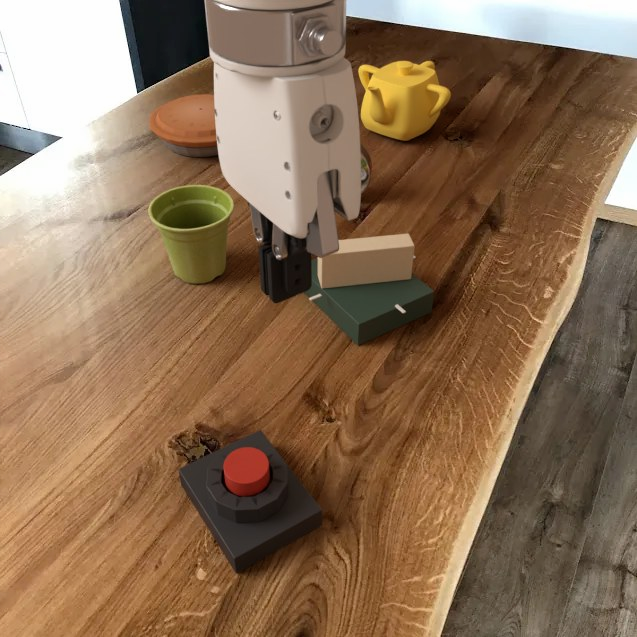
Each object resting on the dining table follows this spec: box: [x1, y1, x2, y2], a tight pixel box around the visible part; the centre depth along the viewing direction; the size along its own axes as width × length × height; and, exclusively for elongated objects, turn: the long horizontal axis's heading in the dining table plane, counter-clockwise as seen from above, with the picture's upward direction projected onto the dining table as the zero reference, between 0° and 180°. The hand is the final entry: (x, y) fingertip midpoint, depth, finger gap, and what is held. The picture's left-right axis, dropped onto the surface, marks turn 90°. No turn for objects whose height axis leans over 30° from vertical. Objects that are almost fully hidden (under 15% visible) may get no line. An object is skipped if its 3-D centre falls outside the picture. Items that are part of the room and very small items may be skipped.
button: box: [223, 447, 270, 497], centre depth 58 cm, size 4×4×2 cm
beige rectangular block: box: [317, 233, 416, 289], centre depth 79 cm, size 10×2×5 cm, turn 100°
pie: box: [148, 93, 219, 158], centre depth 109 cm, size 15×16×5 cm
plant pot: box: [147, 184, 235, 285], centre depth 83 cm, size 9×9×9 cm
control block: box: [178, 429, 323, 574], centre depth 60 cm, size 10×8×4 cm
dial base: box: [303, 255, 435, 346], centre depth 81 cm, size 14×14×3 cm
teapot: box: [358, 60, 452, 142], centre depth 110 cm, size 14×13×10 cm
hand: (286, 290), depth 51 cm, fingers closed
